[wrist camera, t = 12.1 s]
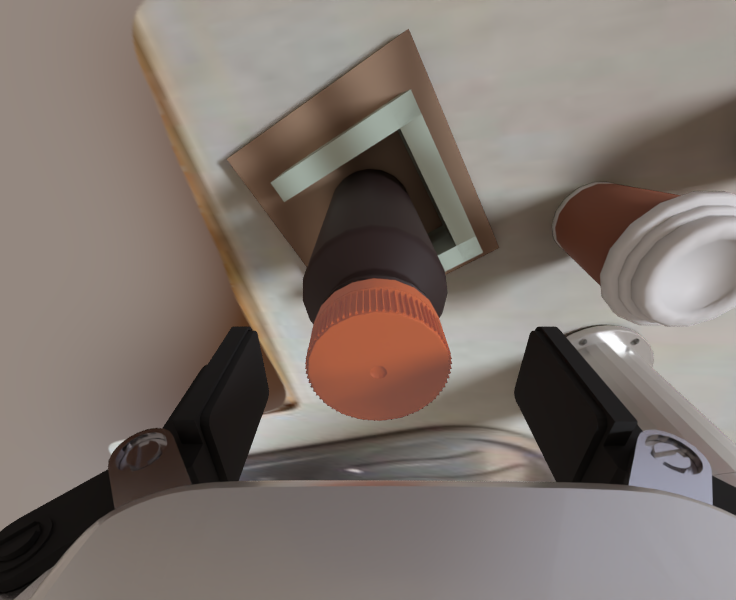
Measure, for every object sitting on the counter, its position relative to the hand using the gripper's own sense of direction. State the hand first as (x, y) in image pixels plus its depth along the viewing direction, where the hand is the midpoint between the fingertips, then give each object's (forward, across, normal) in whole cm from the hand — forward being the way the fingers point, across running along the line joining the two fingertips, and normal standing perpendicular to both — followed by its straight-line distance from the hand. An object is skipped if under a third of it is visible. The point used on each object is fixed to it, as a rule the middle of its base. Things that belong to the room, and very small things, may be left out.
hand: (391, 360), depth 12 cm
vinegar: (+20, +1, 0) cm, 20 cm away
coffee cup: (+21, -19, +1) cm, 28 cm away
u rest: (+20, +1, 0) cm, 20 cm away
